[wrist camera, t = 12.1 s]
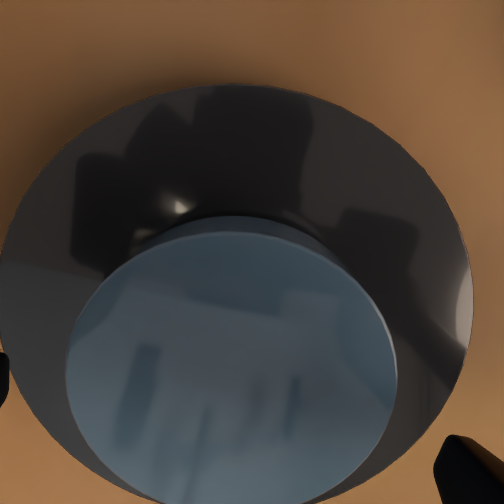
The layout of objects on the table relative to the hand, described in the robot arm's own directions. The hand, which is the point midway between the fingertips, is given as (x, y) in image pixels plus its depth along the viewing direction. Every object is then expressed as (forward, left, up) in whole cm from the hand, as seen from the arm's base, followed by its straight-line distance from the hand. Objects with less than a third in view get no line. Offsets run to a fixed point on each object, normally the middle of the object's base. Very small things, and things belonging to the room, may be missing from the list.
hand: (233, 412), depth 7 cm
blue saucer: (0, 0, -3) cm, 3 cm away
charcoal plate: (0, 0, -4) cm, 4 cm away
